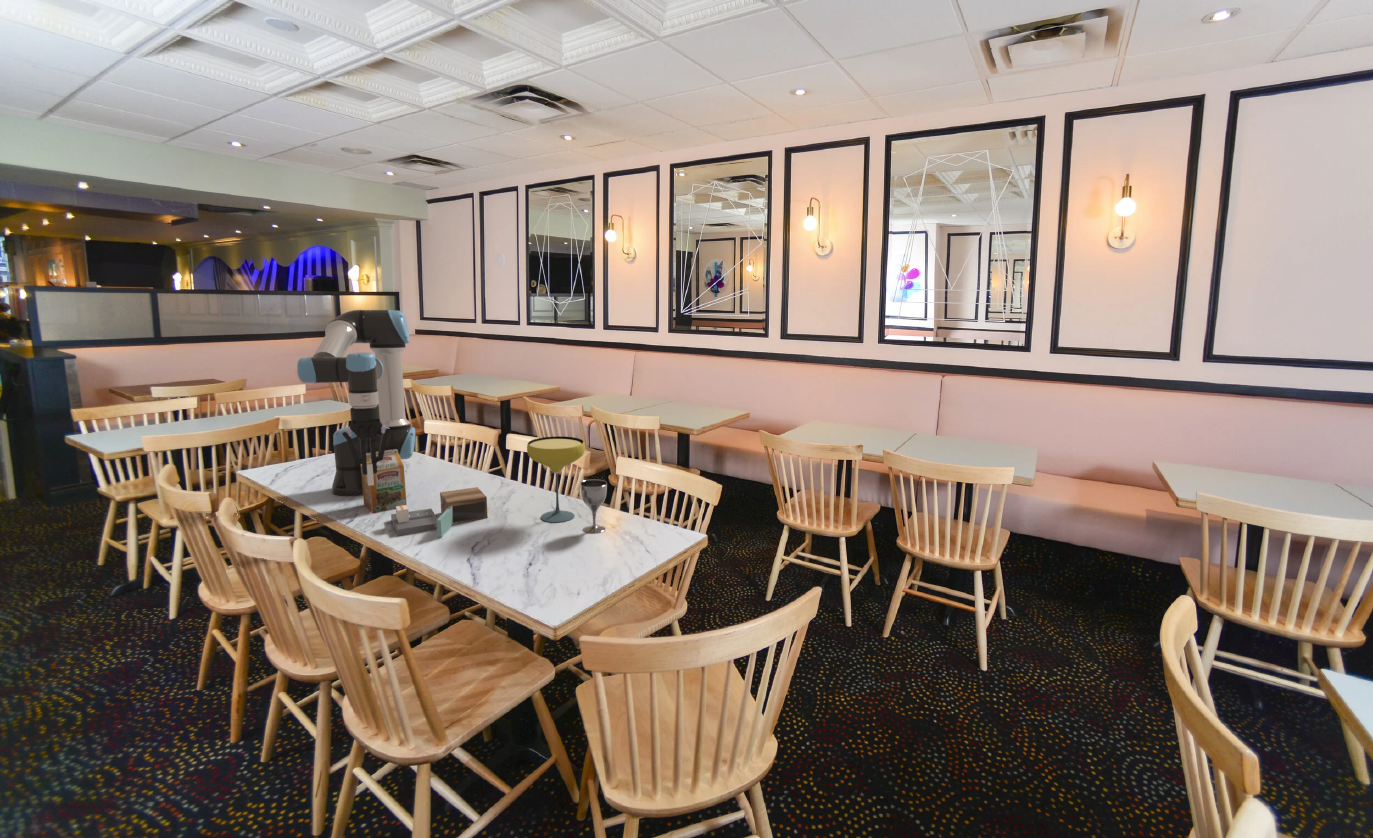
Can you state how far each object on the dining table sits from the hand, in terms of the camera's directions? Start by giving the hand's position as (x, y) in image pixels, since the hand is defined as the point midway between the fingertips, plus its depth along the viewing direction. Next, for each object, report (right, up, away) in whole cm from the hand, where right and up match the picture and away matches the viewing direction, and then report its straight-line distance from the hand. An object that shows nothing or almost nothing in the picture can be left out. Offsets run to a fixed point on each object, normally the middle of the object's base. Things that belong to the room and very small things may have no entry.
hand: (370, 484), depth 187 cm
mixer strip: (+9, -14, +9) cm, 19 cm away
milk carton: (-8, -10, +26) cm, 29 cm away
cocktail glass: (+52, -13, +18) cm, 56 cm away
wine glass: (+65, -15, +8) cm, 68 cm away
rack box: (+21, -12, +18) cm, 30 cm away
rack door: (+20, -15, +4) cm, 25 cm away
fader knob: (+7, -12, +7) cm, 15 cm away
